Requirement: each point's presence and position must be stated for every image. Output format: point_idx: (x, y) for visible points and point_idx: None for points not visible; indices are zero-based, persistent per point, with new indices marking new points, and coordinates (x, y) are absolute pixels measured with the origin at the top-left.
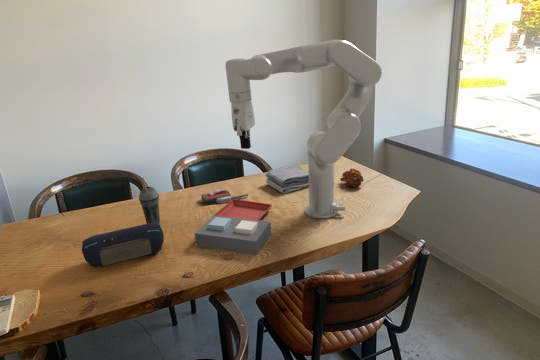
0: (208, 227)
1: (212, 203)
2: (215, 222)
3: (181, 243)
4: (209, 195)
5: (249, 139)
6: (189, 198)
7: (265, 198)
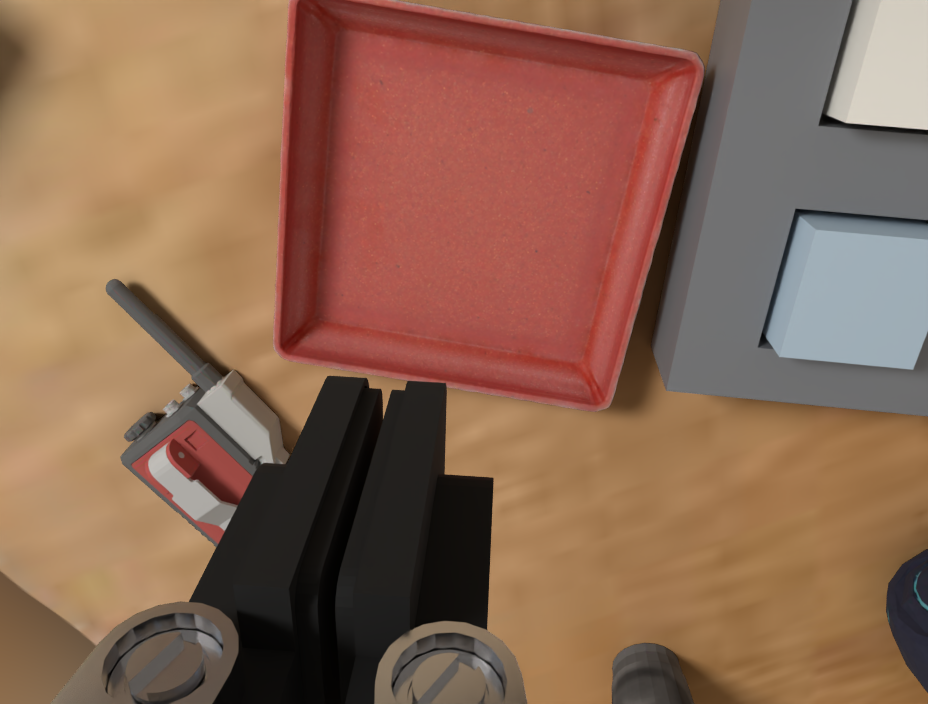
0: None
1: None
2: (883, 328)
3: (866, 465)
4: None
5: (311, 527)
6: None
7: (92, 129)
